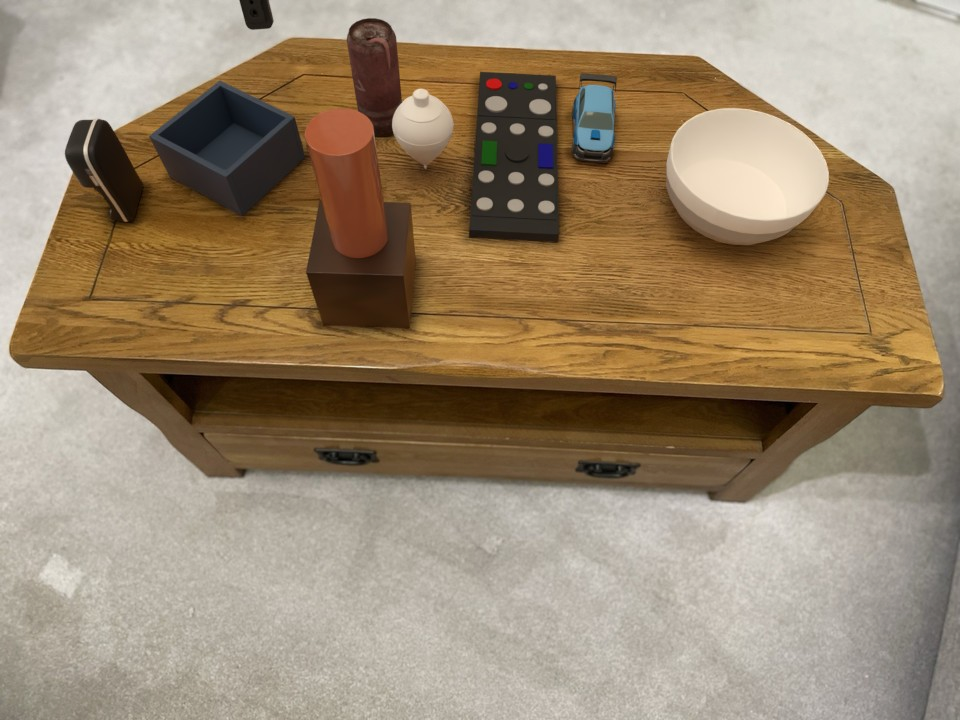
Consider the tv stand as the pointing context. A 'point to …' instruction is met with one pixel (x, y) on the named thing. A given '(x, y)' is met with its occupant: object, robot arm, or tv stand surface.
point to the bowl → (744, 175)
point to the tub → (229, 146)
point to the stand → (365, 275)
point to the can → (375, 72)
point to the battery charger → (104, 167)
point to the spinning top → (422, 126)
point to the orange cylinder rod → (348, 180)
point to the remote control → (515, 159)
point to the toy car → (594, 120)
